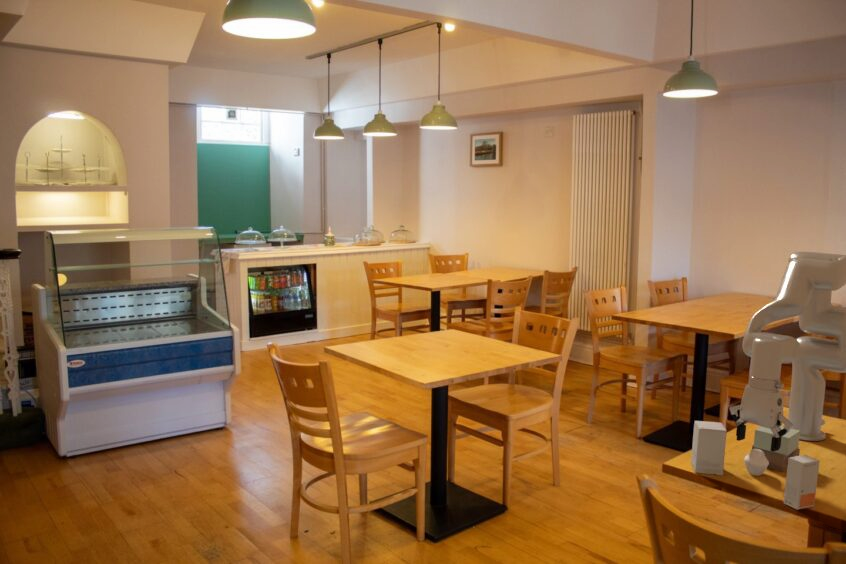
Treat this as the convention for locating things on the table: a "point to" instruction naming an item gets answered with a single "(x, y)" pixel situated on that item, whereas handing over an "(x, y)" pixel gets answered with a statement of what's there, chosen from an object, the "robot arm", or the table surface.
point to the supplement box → (708, 447)
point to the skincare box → (801, 482)
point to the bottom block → (778, 459)
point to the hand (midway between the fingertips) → (757, 445)
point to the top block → (787, 441)
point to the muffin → (756, 462)
